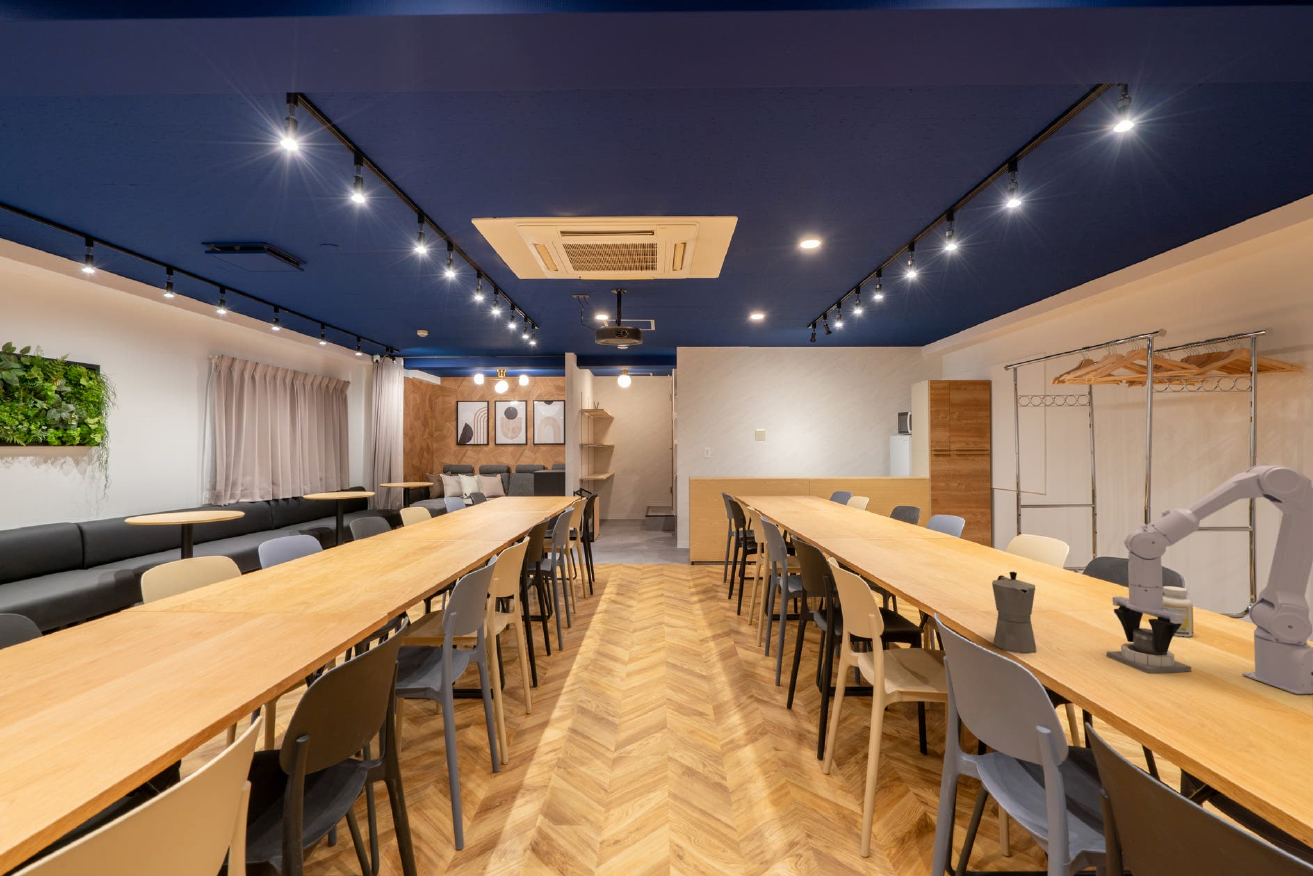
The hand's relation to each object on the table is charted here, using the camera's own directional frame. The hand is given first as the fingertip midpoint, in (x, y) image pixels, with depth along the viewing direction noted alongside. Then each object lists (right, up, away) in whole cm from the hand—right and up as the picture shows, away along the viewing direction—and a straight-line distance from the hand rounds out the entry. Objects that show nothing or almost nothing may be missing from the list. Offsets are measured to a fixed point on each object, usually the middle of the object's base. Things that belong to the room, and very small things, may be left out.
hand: (1146, 646), depth 124 cm
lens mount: (0, -4, 0) cm, 4 cm away
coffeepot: (-22, -4, +12) cm, 26 cm away
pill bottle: (+25, -4, +20) cm, 33 cm away
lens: (0, -3, 0) cm, 3 cm away
